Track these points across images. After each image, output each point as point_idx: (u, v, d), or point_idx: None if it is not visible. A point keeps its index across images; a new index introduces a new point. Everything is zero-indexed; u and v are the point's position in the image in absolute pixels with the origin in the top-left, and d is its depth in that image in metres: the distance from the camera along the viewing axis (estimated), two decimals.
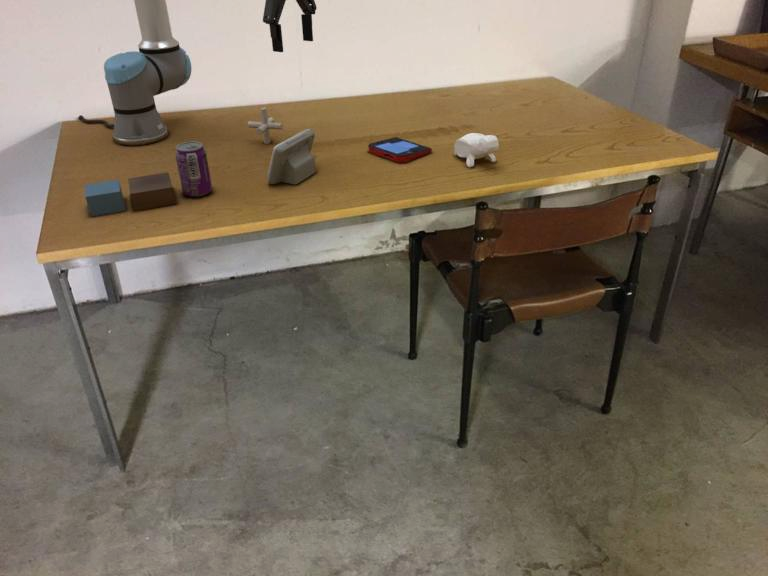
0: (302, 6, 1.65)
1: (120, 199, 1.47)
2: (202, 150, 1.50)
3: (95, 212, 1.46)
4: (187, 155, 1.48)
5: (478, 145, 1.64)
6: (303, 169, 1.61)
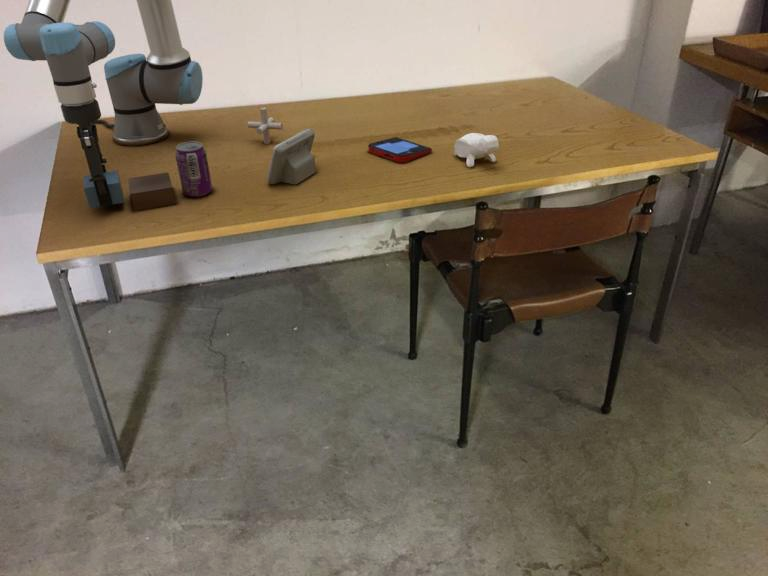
0: None
1: (119, 190, 1.46)
2: (202, 150, 1.50)
3: (94, 204, 1.45)
4: (187, 155, 1.48)
5: (478, 145, 1.64)
6: (303, 170, 1.61)
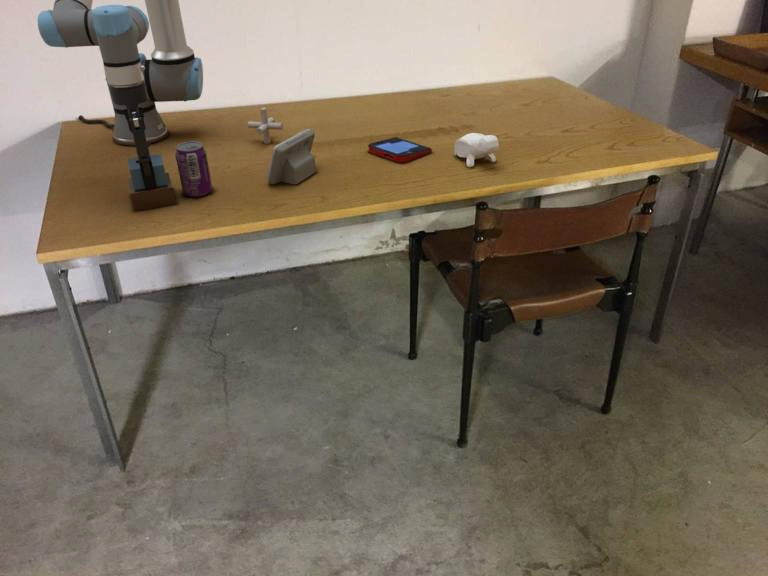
0: None
1: (163, 173, 1.48)
2: (202, 150, 1.50)
3: (138, 186, 1.47)
4: (187, 155, 1.48)
5: (478, 145, 1.64)
6: (303, 170, 1.61)
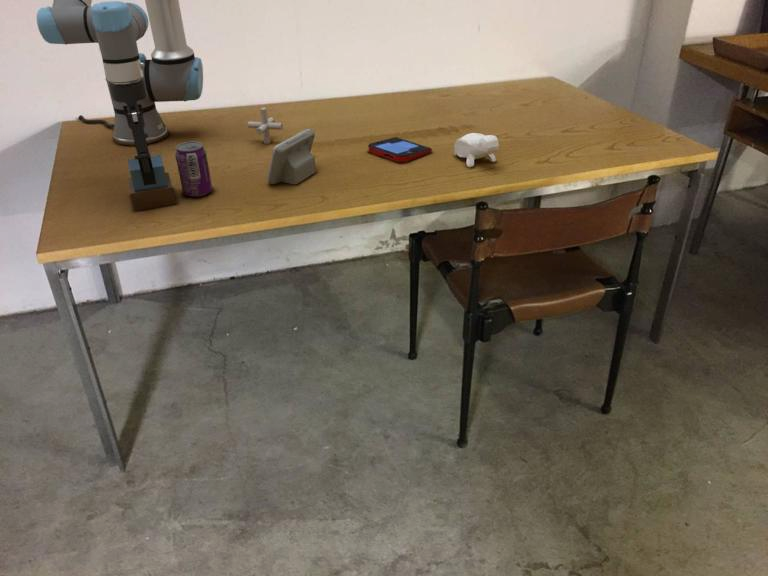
0: None
1: (163, 174, 1.48)
2: (202, 150, 1.50)
3: (138, 186, 1.47)
4: (187, 155, 1.48)
5: (478, 145, 1.64)
6: (303, 170, 1.61)
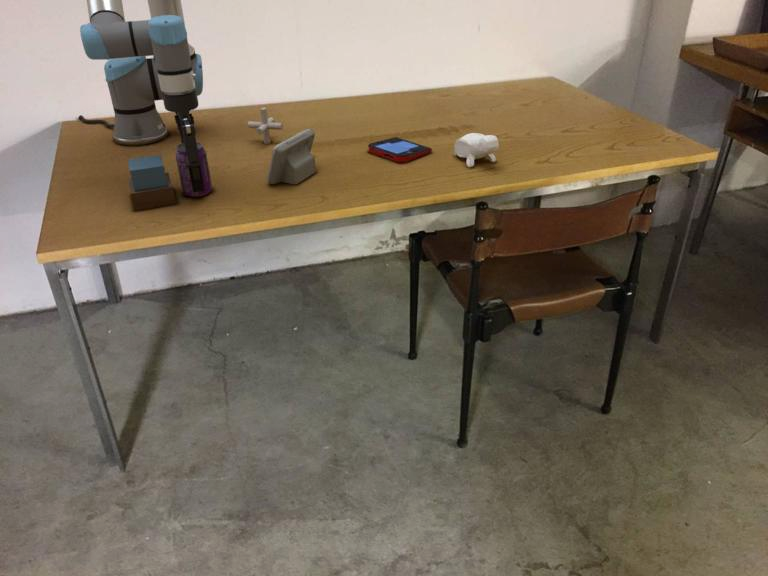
0: None
1: (163, 174, 1.48)
2: (202, 150, 1.50)
3: (138, 186, 1.47)
4: None
5: (478, 145, 1.64)
6: (303, 170, 1.61)
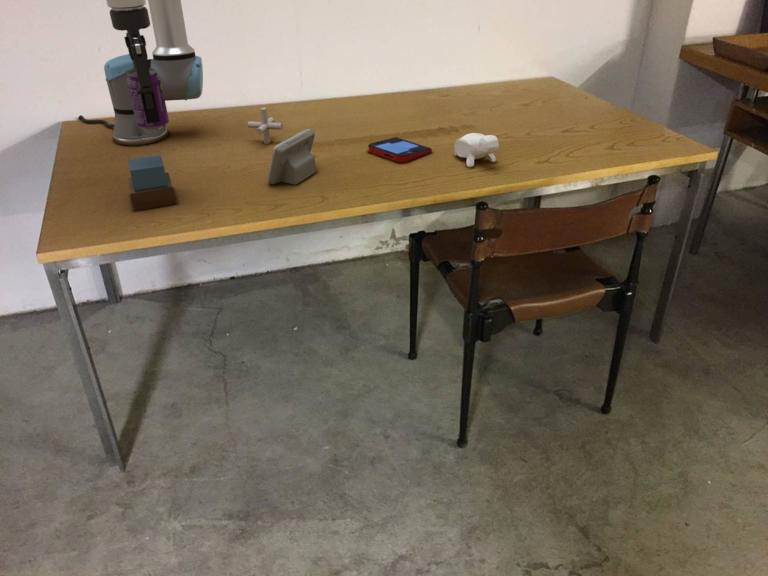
0: None
1: (163, 174, 1.48)
2: (156, 76, 1.38)
3: (138, 186, 1.47)
4: None
5: (478, 145, 1.64)
6: (303, 170, 1.61)
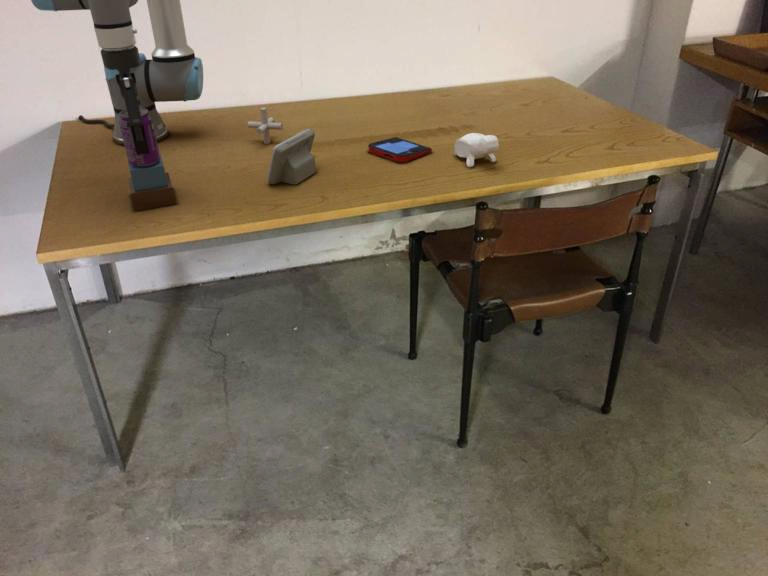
0: None
1: (163, 174, 1.48)
2: (147, 116, 1.42)
3: (138, 186, 1.47)
4: None
5: (478, 145, 1.64)
6: (303, 170, 1.61)
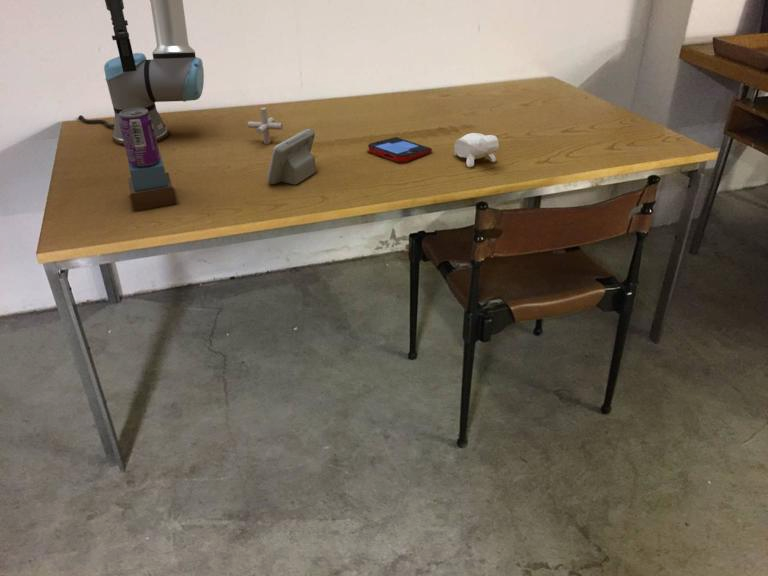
0: None
1: (163, 174, 1.48)
2: (147, 116, 1.42)
3: (138, 186, 1.47)
4: (130, 121, 1.40)
5: (478, 145, 1.64)
6: (303, 170, 1.61)
